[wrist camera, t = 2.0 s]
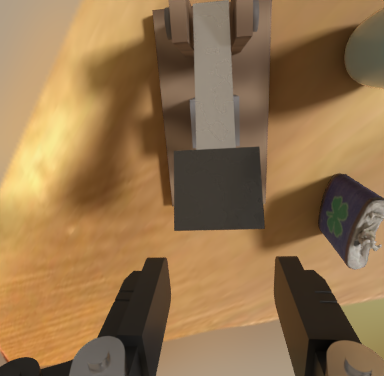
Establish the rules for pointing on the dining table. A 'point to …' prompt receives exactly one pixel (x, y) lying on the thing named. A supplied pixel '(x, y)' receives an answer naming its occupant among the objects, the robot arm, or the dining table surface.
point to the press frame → (241, 76)
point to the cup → (367, 52)
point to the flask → (351, 219)
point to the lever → (216, 140)
